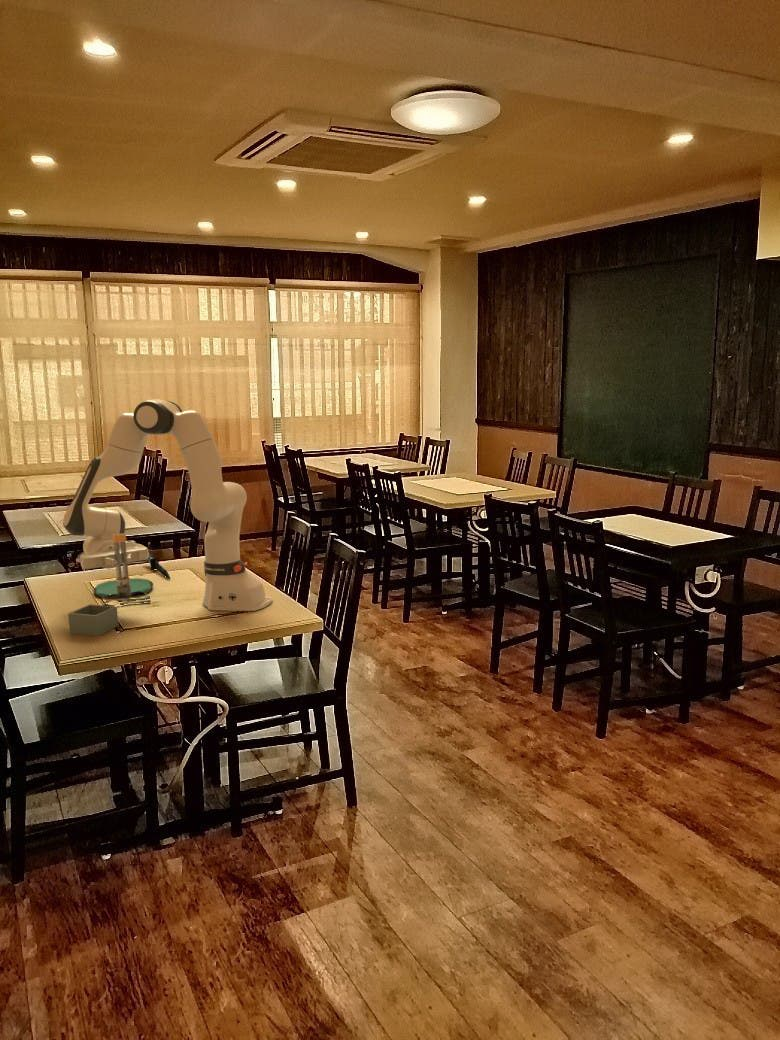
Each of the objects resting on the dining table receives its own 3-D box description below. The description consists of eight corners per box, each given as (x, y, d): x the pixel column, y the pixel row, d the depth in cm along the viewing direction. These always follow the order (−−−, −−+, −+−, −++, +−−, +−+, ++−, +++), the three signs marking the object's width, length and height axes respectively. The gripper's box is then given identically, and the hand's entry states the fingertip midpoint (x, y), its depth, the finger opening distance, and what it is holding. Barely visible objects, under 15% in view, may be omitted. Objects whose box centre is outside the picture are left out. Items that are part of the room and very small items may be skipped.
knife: (143, 561, 315) (143, 550, 314) (151, 559, 317) (150, 549, 315) (163, 586, 290) (162, 574, 288) (171, 585, 291) (171, 573, 290)
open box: (118, 625, 239) (116, 606, 238) (97, 636, 230) (96, 616, 229) (91, 623, 242) (89, 604, 240) (69, 633, 233) (68, 613, 231)
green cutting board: (152, 581, 290) (151, 575, 289) (157, 604, 262) (156, 598, 262) (94, 587, 283) (93, 581, 283) (93, 612, 256) (92, 605, 255)
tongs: (128, 592, 248) (123, 532, 244) (133, 595, 245) (127, 534, 241) (115, 595, 245) (110, 534, 242) (119, 598, 242) (114, 536, 239)
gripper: (73, 549, 247) (86, 556, 236) (138, 539, 258) (153, 546, 247) (75, 569, 248) (88, 577, 237) (140, 558, 260) (155, 566, 249)
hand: (122, 561), depth 242 cm, fingers closed on tongs, 3 cm apart
